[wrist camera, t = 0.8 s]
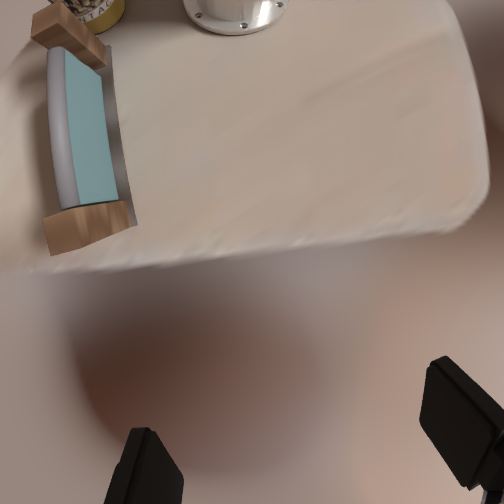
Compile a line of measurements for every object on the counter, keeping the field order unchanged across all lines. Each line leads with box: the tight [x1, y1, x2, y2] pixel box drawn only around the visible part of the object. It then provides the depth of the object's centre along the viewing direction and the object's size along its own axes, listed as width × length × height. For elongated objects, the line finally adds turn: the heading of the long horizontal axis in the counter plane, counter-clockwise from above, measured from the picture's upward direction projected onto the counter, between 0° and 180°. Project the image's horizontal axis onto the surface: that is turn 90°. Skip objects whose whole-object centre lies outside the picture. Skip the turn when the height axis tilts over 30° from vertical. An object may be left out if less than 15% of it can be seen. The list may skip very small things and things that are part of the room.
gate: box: [47, 47, 119, 210], centre depth 24 cm, size 16×2×10 cm, turn 11°
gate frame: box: [31, 0, 137, 256], centre depth 24 cm, size 23×4×13 cm, turn 11°
